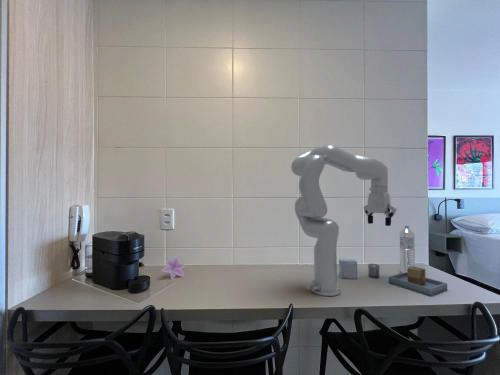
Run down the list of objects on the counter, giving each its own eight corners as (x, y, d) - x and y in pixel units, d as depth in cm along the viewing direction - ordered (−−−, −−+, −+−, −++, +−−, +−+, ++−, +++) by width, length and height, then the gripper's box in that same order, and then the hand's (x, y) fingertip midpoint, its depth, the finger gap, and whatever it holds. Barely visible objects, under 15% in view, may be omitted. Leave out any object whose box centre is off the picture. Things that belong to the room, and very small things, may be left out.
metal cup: (375, 279, 126) (375, 267, 126) (366, 276, 130) (366, 264, 130) (381, 277, 128) (381, 265, 128) (372, 274, 133) (372, 263, 133)
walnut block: (419, 286, 113) (419, 270, 113) (407, 282, 117) (407, 267, 117) (425, 284, 115) (425, 269, 115) (413, 281, 119) (413, 266, 119)
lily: (157, 282, 125) (163, 267, 122) (159, 267, 135) (165, 252, 133) (181, 287, 129) (188, 272, 126) (181, 271, 139) (187, 257, 137)
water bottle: (400, 270, 140) (399, 224, 140) (414, 272, 136) (414, 225, 137) (399, 273, 134) (399, 226, 134) (415, 275, 130) (414, 227, 131)
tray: (430, 296, 105) (430, 289, 105) (388, 283, 120) (388, 276, 120) (447, 290, 111) (447, 283, 112) (405, 278, 127) (405, 272, 127)
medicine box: (354, 276, 130) (354, 259, 130) (357, 279, 126) (357, 261, 126) (339, 275, 131) (338, 258, 131) (341, 278, 127) (341, 261, 127)
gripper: (359, 190, 133) (359, 222, 132) (390, 190, 117) (390, 227, 117) (369, 190, 136) (368, 222, 136) (400, 190, 121) (400, 226, 120)
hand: (378, 224), depth 126 cm, fingers open, 9 cm apart
